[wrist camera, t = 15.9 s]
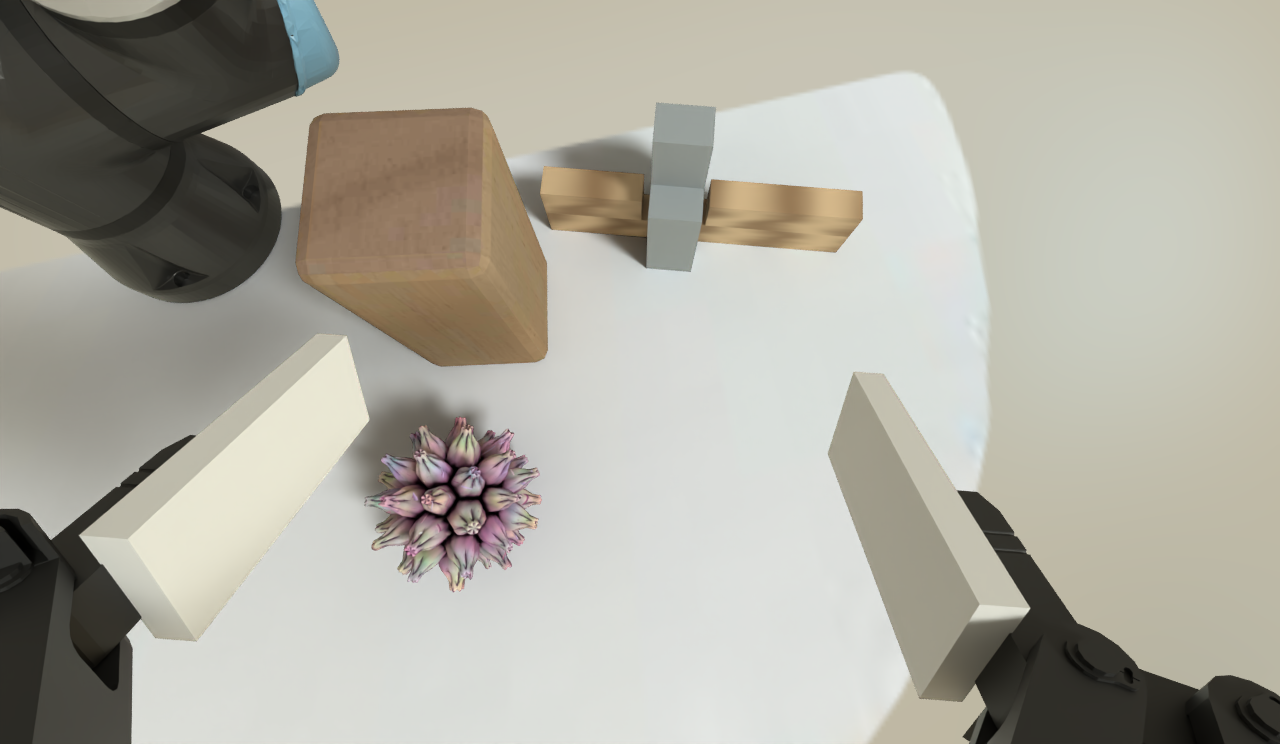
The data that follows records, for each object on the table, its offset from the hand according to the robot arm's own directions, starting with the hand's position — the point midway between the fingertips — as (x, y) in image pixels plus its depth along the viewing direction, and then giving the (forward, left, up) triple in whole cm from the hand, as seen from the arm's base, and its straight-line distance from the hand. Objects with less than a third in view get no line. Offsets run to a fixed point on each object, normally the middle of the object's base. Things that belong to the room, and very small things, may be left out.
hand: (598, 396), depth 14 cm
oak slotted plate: (-5, +22, -31) cm, 38 cm away
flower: (-9, -8, -31) cm, 33 cm away
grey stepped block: (-7, +21, -31) cm, 38 cm away
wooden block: (-17, +6, -31) cm, 36 cm away
